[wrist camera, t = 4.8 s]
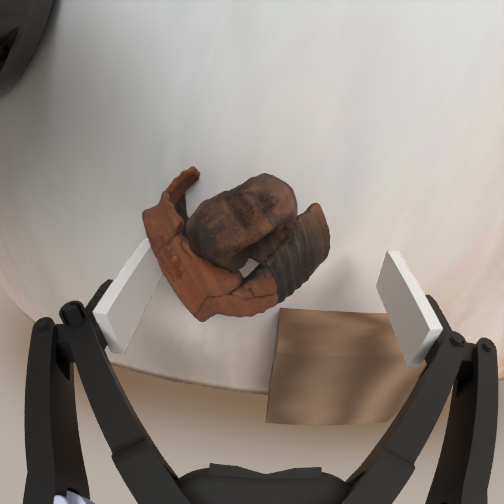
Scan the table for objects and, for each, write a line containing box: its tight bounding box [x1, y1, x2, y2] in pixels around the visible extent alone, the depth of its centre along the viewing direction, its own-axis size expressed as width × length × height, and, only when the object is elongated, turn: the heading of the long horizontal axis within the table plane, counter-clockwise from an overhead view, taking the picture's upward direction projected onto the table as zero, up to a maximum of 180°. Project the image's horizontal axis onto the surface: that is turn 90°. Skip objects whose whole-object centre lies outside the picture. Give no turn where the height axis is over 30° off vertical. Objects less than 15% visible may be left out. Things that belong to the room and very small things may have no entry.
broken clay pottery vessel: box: [142, 166, 330, 322], centre depth 15 cm, size 12×9×8 cm
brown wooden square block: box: [266, 308, 427, 425], centre depth 25 cm, size 15×15×5 cm
